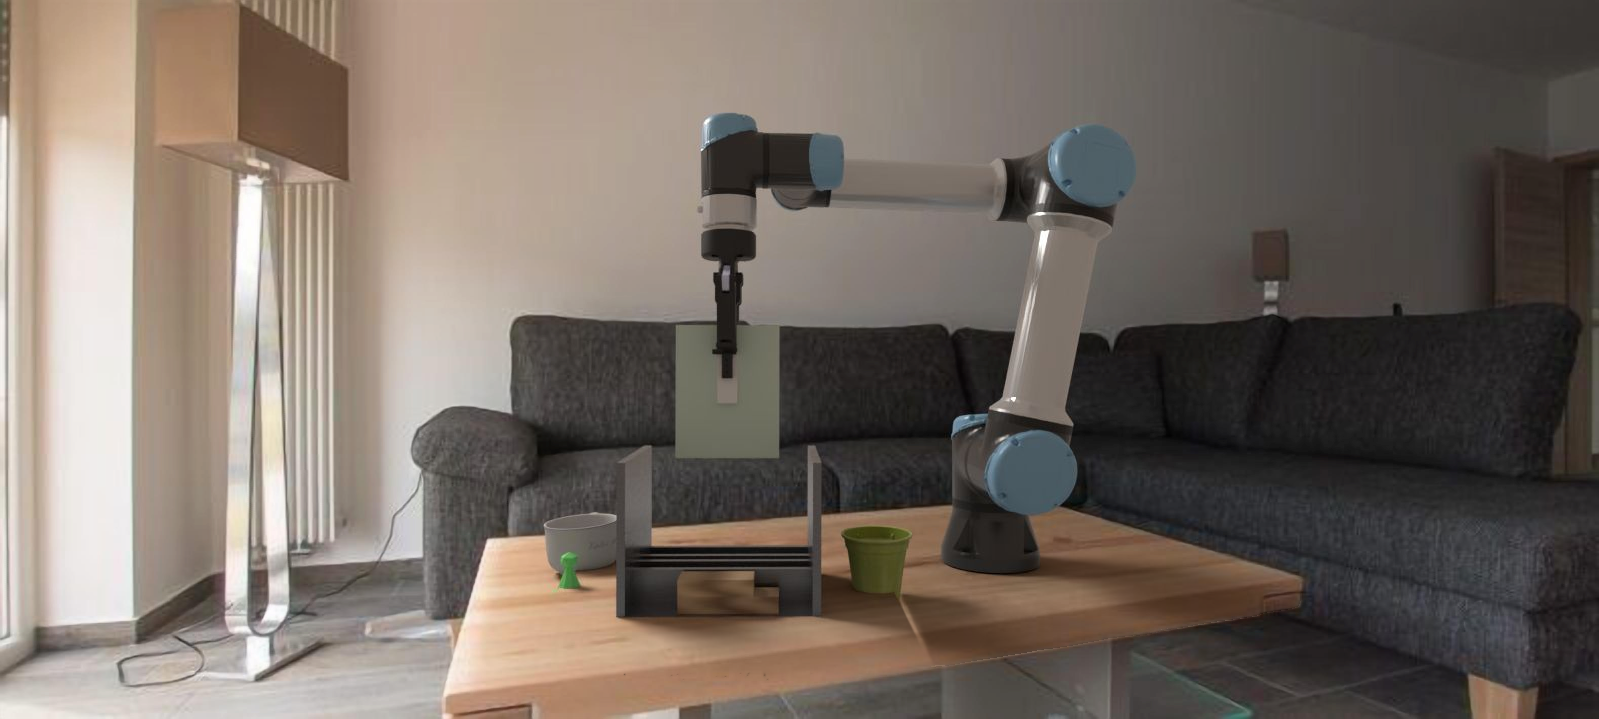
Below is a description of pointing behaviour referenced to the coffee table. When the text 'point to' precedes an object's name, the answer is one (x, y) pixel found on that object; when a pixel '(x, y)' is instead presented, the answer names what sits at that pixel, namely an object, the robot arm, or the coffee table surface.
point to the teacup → (582, 540)
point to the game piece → (568, 572)
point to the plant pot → (877, 557)
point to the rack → (706, 553)
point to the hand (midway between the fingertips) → (728, 402)
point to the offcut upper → (716, 584)
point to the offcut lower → (732, 603)
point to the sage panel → (727, 424)
